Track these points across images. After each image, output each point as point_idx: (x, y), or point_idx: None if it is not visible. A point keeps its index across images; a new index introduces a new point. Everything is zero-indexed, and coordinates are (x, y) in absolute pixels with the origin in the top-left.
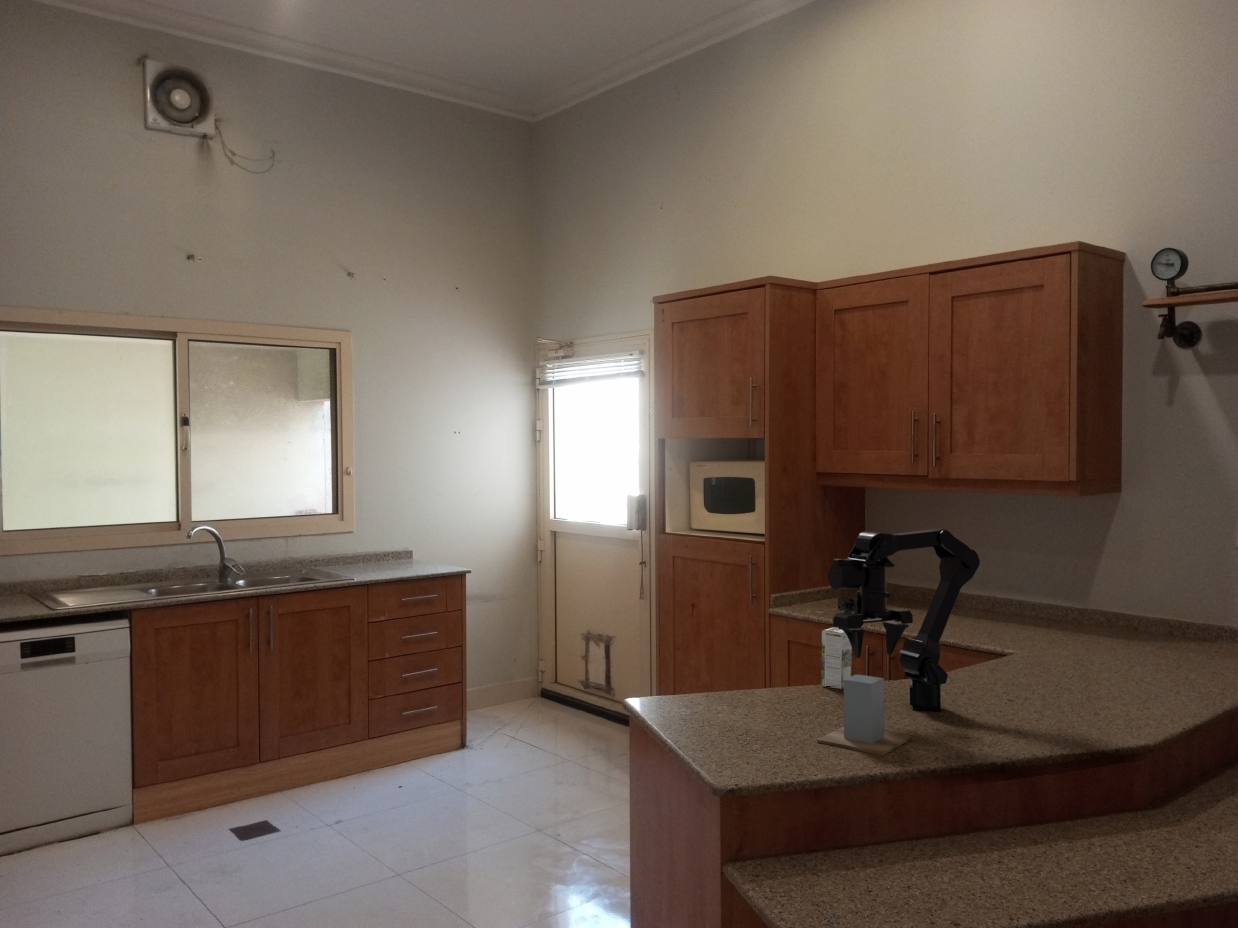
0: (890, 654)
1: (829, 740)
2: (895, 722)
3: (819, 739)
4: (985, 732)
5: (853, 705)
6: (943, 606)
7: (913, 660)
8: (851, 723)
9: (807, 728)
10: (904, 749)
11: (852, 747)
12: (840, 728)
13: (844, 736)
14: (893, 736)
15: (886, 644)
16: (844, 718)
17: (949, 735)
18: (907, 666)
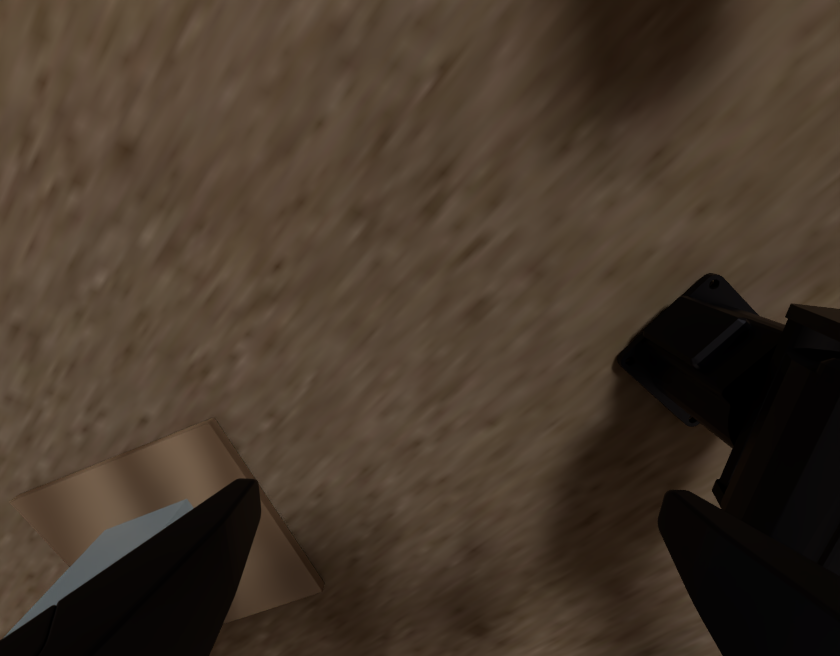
0: (659, 526)
1: (47, 525)
2: (416, 446)
3: (17, 506)
4: (568, 622)
5: None
6: None
7: (796, 538)
8: None
9: (55, 361)
10: (241, 630)
11: None
12: (154, 447)
13: (101, 535)
14: (270, 574)
15: (752, 563)
16: (48, 593)
17: (454, 602)
18: (769, 437)
